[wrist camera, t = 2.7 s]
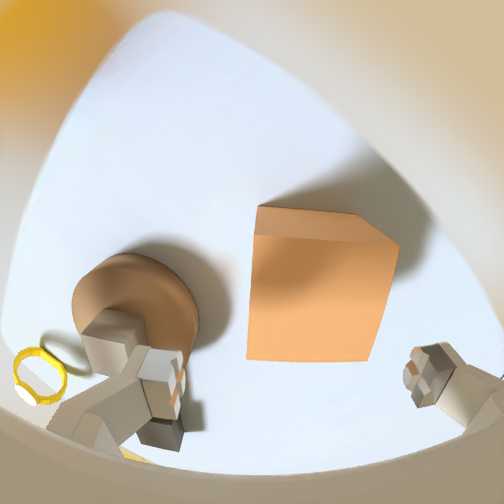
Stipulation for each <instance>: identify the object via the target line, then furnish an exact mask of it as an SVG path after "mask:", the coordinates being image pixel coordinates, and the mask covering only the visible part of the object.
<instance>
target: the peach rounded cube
mask: <svg viewBox="0 0 504 504" xmlns="http://www.w3.org/2000/svg"><path fill="white" fill-rule="evenodd" d="M399 250H400V246H399V245H398V244H397V243H395V242H394V241H393V240H392V239H390V238H389V237H387V236H386V235H385V234H383V233H382V232H381V231H379V230H378V229H377V228H375V227H374V226H372V225H371V224H370V223H368V222H367V221H365V220H364V219H363V218H361V217H360V216H358V215H355V214H346V213H336V212H326V211H315V210H304V209H292V208H279V207H265V206H257V214H256V222H255V231H254V243H253V259H252V275H251V291H250V307H249V323H248V339H247V355H246V360H261V361H281V362H358V361H368V358H369V355H370V352H371V350H372V347H373V344H374V341H375V338H376V335H377V332H378V329H379V326H380V323H381V319H382V316H383V313H384V310H385V306H386V303H387V299H388V296H389V292H390V288H391V284H392V280H393V276H394V272H395V268H396V264H397V260H398V255H399Z"/></svg>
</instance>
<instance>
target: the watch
mask: <svg viewBox="0 0 504 504" xmlns="http://www.w3.org/2000/svg"><path fill="white" fill-rule="evenodd" d="M29 356H40V357H41V358H43V359H44V360H45V361H47V362H48V363H49V364H51V365H52V366H54V367H55V368H56V369H58V370H59V373H60V375H61V377H62V380H63V381H62V388H61V389H60V391H59V392H58V393H57V394H54V395H51V396H49V397H46V396H40V395H37V394H36V392H35V391H34V390H33V389H32V388H31V387H30V386H29V385H27V384H26V383H24V382H22V381H20V379H19V377H18V374H17V367H18V366H19V364H20V362H21V361H22V360H23V359H25V358H27V357H29ZM14 380H15V382H16V385H15V389H16V391H17V392H18V394H19V395H20V396H21V397H22V398H23V399H24V400H25V401H26V402H28V403H29V404H31V405H33V406H37V404H45V405H48V404H49V405H50V404H52V403H54V402H57V401H58V400H60V399H61V397H62V396H63V394H64V393H65V390H66V387H67V373H66V370H65V368H64V366H63V364H62V363H61V362H59V361H58V360H56V359H55V358H54V357H52V356H51V355H50V354H49V353H47V352H46V351H45V350H43V348H40V347H28V348H26V349H24V350H22V351H20V352H19V353H18V355H17V356H16V358H15V360H14Z"/></svg>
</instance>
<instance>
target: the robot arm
mask: <svg viewBox="0 0 504 504" xmlns="http://www.w3.org/2000/svg"><path fill="white" fill-rule="evenodd" d="M410 358H411V360H410V361H409V362H408V363H407V364H406V366H405V369H404V371H403V381H404V384H405V386H406V388H407V389H408V390H410V391H412V394H411V397H412V399H413V401H414V403H415V405H416V406H417V408H421V407H426V406H430V405H434V404H435V406H436V407H438V408H439V409H440V410H442V411H443V412H444V413H446V414H447V415H448V416H450V417H451V418H452V419H453V420H455V421H456V422H457V423H459V424H460V425H461V426H463V427H464V428H465V429H466V430H465V431H464V432H463V434H462V435H461V436H459V437H456V438H454V439H451V440H449V441H446V442H444V443H441V444H438V445H436V446H433V447H430V448H427V449H424V450H421V451H418V452H414V453H411V454H408V455H404V456H401V457H397V458H393V459H389V460H385V461H381V462H377V463H372V464H368V465H363V466H357V467H352V468H346V469H339V470H332V471H324V472H316V473H305V474H290V475H232V474H217V473H206V472H197V471H189V470H182V469H176V468H170V467H164V466H159V465H154V464H149V463H144V462H140V461H136V460H132V459H128V458H124V456H123V454H122V453H121V451H120V449H119V448H118V446H120V445H121V444H122V443H123V442H124V441H126V440H127V439H128V438H129V437H130V436H132V435H133V434H134V433H135V432H136V431H137V430H139V429H140V428H141V427H142V426H143V425H145V424H146V423H147V422H148V421H149V420H150V419H151V418H152V417H157V418H164V419H172V420H177V418H178V414H179V410H180V406H181V404H180V399H179V398H181V397H182V396H183V395H184V390H185V382H186V379H185V370H184V369H183V367H182V362H183V355H182V352H181V350H174V349H166V348H159V347H151V346H144V345H137V346H136V347H135V348H134V350H133V352H132V354H131V355H130V357H129V359H128V361H127V363H126V365H125V366H124V368H123V370H122V372H121V374H120V375H114V376H112V377H110V378H108V379H106V380H105V381H103V382H101V383H99V384H97V385H95V386H93V387H91V388H89V389H88V390H86V391H84V392H82V393H80V394H78V395H76V396H74V397H72V398H70V399H68V400H66V401H64V402H62V403H61V405H60V406H59V408H58V409H57V411H56V413H55V414H54V416H53V417H52V419H51V421H50V422H49V424H48V426H47V427H46V429H44V428H41V427H39V426H37V425H35V424H33V423H31V422H29V421H27V420H25V419H23V418H21V417H19V416H18V415H16V414H14V413H12V412H10V411H8V410H7V409H5V408H3V407H2V406H0V504H504V377H503V378H502V379H499V378H497V377H495V376H493V375H491V374H489V373H487V372H485V371H483V370H480V369H478V368H476V367H474V366H472V365H467V364H466V363H465V362H464V361H463V359H462V358H461V357H460V356H459V355H458V353H457V352H456V351H455V350H454V349H453V348H452V346H451V345H450V344H449V343H447V342H441V343H436V344H431V345H425V346H418V347H414V349H413V350H412V351H411V354H410Z"/></svg>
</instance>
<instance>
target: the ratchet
mask: <svg viewBox="0 0 504 504" xmlns="http://www.w3.org/2000/svg"><path fill="white" fill-rule="evenodd" d="M72 315H73V319H74V323H75V326H76V328H77V330H78V333H79V335H80V336H81V338H82V341H83V344H84V348H85V351H86V354H87V357H88V359H89V362H90V365H91V368H92V371H93V372H95V373H98V374H102V375H106V376H109V377H112V376H114V375H120V374H121V372H122V370H123V368H124V366H125V365H126V363H127V361H128V359H129V357H130V355H131V354H132V352H133V350H134V348H135V347H136V346H137V345H144V346H151V347H159V348H166V349H174V350H181V352H182V355H183V362H182V367H184V366H185V365H186V363H187V361H188V359H189V356H190V354H191V351H192V348H193V345H194V342H195V339H196V336H197V333H198V328H199V314H198V310H197V306H196V303H195V301H194V298H193V296H192V294H191V293H190V291H189V289H188V288H187V286H186V285H185V284H184V282H183V281H182V280H181V279H180V278H179V277H178V276H177V275H176V274H175V273H174V272H173V271H172V270H170V269H169V268H168V267H166V266H165V265H163V264H161V263H160V262H158V261H156V260H154V259H151V258H149V257H146V256H142V255H137V254H119V255H115V256H112V257H110V258H108V259H106V260H105V261H103V262H102V263H101V264H99V265H98V266H97V267H95V268H94V269H93V270H92V271H90V272H89V273H88V274H87V275H85V276H84V277H83V278H82V279H81V280H80V281H79V282H78V284H77V286H76V287H75V290H74V293H73V297H72ZM136 433H137V435H138V438H139V440H140V442H141V444H144V445H148V446H153V447H157V448H161V449H166V450H171V451H176V452H179V450H180V447H181V443H182V439H183V435H184V430H183V426H182V421H181V416H180V411H179V414H178V418H177V420H172V419H164V418H157V417H152V418H151V419H150V420H149V421H148V422H147V423H146V424H145V425H143V426H142V427H141V428H140V429H139V430H137V431H136Z"/></svg>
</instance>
